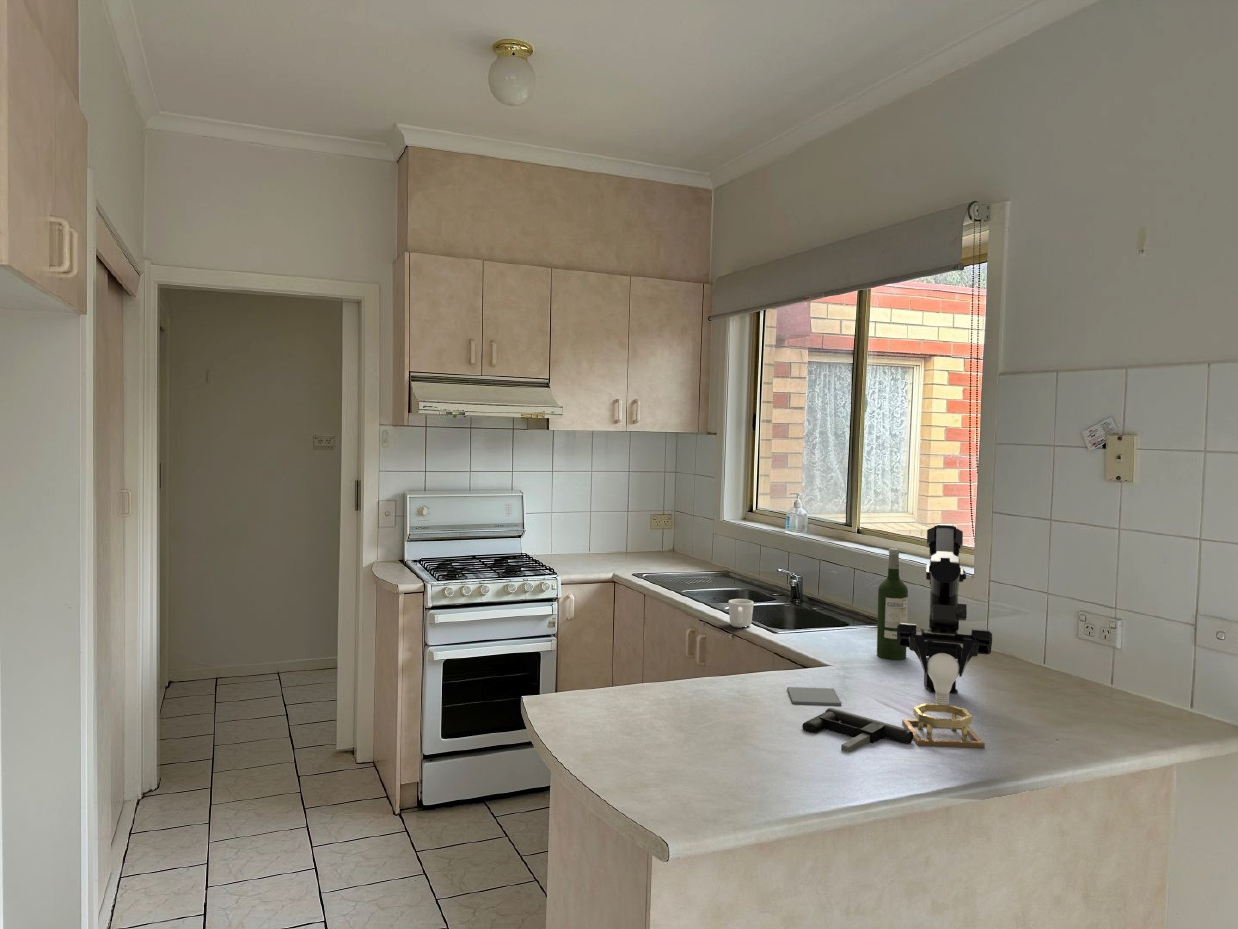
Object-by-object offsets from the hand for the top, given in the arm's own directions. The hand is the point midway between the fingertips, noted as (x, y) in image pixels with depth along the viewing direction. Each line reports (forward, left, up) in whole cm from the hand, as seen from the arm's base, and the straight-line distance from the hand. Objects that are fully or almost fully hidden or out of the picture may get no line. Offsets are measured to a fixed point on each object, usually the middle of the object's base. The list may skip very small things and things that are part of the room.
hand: (942, 674), depth 180 cm
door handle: (+18, +2, -14) cm, 23 cm away
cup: (+36, -94, -13) cm, 102 cm away
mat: (+23, -24, -13) cm, 36 cm away
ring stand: (0, -1, -13) cm, 13 cm away
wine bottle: (-4, -64, -13) cm, 66 cm away
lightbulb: (0, -1, -7) cm, 7 cm away
